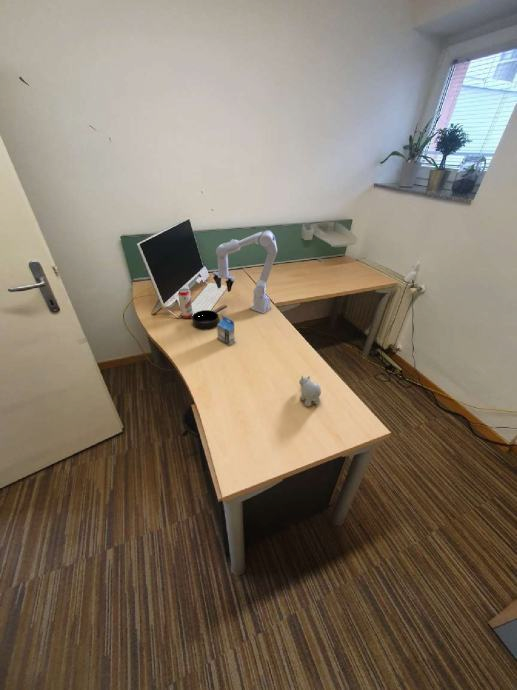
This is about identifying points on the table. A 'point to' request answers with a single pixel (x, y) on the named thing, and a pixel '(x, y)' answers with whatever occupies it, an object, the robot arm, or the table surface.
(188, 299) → the beer can
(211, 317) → the pan
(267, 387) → the table surface
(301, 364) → the table surface
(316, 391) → the chubby cartoon animal
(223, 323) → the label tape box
